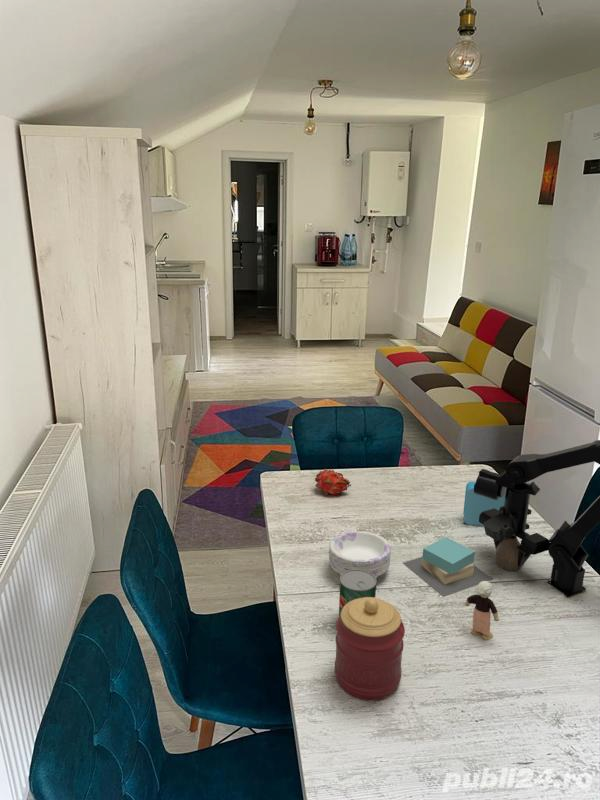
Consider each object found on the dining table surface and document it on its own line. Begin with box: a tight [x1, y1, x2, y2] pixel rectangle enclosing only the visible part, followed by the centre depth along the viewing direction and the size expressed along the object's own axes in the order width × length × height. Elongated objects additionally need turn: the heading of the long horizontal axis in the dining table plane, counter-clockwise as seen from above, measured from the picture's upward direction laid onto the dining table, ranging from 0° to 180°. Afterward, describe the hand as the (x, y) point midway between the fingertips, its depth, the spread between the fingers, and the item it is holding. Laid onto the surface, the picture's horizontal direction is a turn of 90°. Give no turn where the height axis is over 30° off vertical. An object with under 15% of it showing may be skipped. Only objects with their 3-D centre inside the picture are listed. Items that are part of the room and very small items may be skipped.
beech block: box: [421, 555, 475, 585], centre depth 153 cm, size 9×9×3 cm
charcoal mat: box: [402, 556, 494, 598], centre depth 153 cm, size 16×16×1 cm
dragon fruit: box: [314, 468, 352, 497], centre depth 195 cm, size 8×8×12 cm
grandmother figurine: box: [464, 581, 500, 641], centre depth 130 cm, size 8×4×13 cm, turn 59°
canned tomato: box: [338, 569, 377, 617], centre depth 133 cm, size 8×8×11 cm
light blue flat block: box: [462, 481, 506, 527], centre depth 176 cm, size 12×4×12 cm, turn 79°
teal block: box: [421, 536, 476, 575], centre depth 152 cm, size 9×9×3 cm
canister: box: [334, 597, 406, 701], centre depth 116 cm, size 13×13×18 cm
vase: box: [495, 535, 521, 571], centre depth 155 cm, size 7×7×9 cm
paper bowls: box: [328, 530, 392, 579], centre depth 152 cm, size 15×15×8 cm
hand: (509, 559), depth 156 cm, fingers closed on vase, 7 cm apart
